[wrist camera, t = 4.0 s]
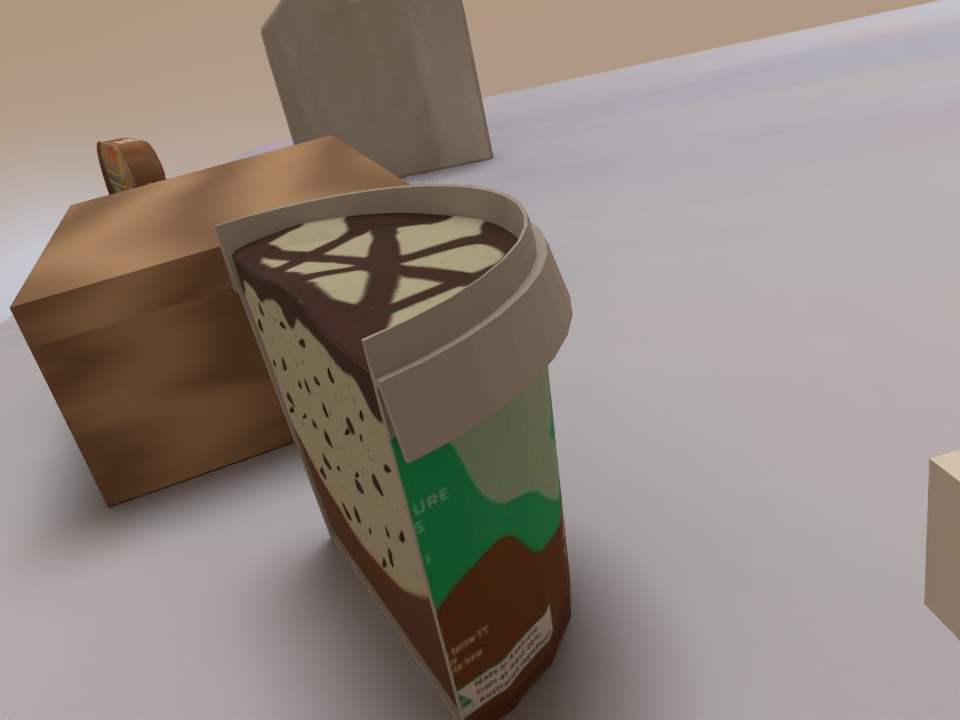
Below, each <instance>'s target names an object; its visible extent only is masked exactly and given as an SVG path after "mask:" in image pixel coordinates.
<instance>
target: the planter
mask: <svg viewBox="0 0 960 720" xmlns="http://www.w3.org/2000/svg"><path fill="white" fill-rule="evenodd" d="M261 34H262V38H263V42H264V46H265V49H266V53H267V57H268V60H269V63H270V67H271V70H272V73H273V77H274V80H275V83H276V87H277V90H278V93H279V97H280V100H281V103H282V107H283V110H284V113H285V117H286V120H287V123H288V126H289V130H290V133H291V136H292V140H293V143H294V145H296V144H300V143H304V142H308V141H311V140H315V139H319V138H322V137H326V136H330V135H333V136H334V137H336V138H337V139H339V140H340V141H342V142H344V143H345V144H347V145H348V146H350V147H351V148H353V149H355V150H356V151H358V152H359V153H361V154H362V155H364V156H366V157H367V158H369V159H370V160H372V161H373V162H375V163H377V164H378V165H380V166H381V167H383V168H384V169H386V170H388V171H389V172H391V173H392V174H394V175H395V176H397V177H399V178H400V177H404V176H409V175H414V174H419V173H424V172H429V171H433V170H438V169H443V168H448V167H453V166H458V165H462V164H467V163H472V162H477V161H482V160H487V159H491V158H493V152H492V147H491V142H490V137H489V132H488V127H487V122H486V117H485V112H484V107H483V102H482V97H481V92H480V87H479V82H478V77H477V72H476V67H475V62H474V57H473V52H472V47H471V42H470V37H469V32H468V27H467V22H466V17H465V12H464V8H463V3H462V0H280V1H279V3H278V4H277V6H276V7H275V9H274V10H273V12H272V13H271V14H270V16H269V17H268V19H267V20H266V21H265V23H264V24H263V26H262V29H261Z"/></svg>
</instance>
